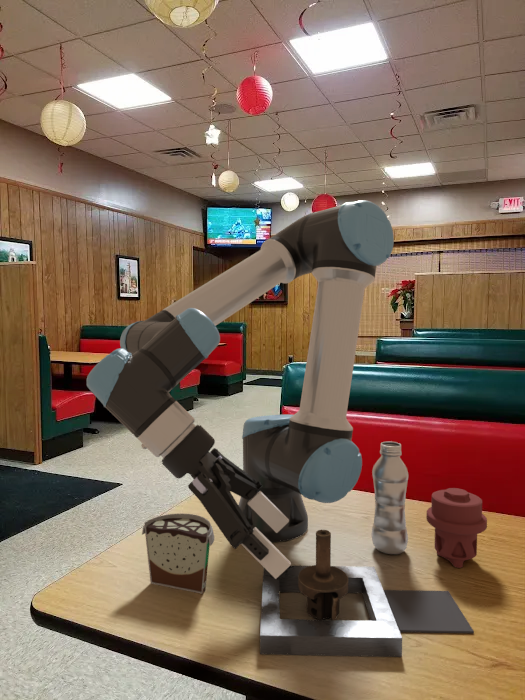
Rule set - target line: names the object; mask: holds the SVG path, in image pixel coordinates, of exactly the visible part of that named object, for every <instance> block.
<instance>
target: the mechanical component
mask: <svg viewBox="0 0 525 700" xmlns="http://www.w3.org/2000/svg"><path fill="white" fill-rule="evenodd" d="M426 521H427V523H428V524H430V526H431V527H433V528H434V549H435V551H436V554H437V556H439V557H442V558H444V559H445V560H446V561H448V562H450V563H451V564H452V566H453V567H454V568H458V569H461V568H463V567H464V562H465V561H468V560H471V559H474V558H476V556H477V553H478V552H477V551H478V534H482V533H483V532H484V531H486V530H487V527H488V519H487V517H486V516H485V515H484V513H483V499H482V498H480V497H479V496H478V495H476V494H473V493H471V492H468V491H467V490H465V489H462V488H457V487H449V488H446V489H440V490H437V491H434V492H432V494H431V506H430V507H429V508H427V510H426Z"/></svg>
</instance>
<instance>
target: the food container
mask: <svg viewBox="0 0 525 700" xmlns="http://www.w3.org/2000/svg"><path fill="white" fill-rule="evenodd" d="M211 524H212V523H211V522H210V521H209V520H208V519H207V518H205V517H203V516H200V515H199V514H198V515H197V514H192V513H170V514H169V513H167V514H162V515H160V516H155V517H153V518H150V519H149V520H147V521H145V522H144V523H143V527H142V530H141V531H142V532H141V535H145V543H146V554H147V563H148V564H147V565H148V573H149V581H150V584H152V585H157V586H161V587H166V588H171V589H172V588H173V589H177V590H181V591H185V592H192V593H197V594H202V595H203V594H204V593H205V591H206V587H207V581H208V580H207V579H208V568H209V557H210V546H212V545H213V544H214V541H215V534H214V529H213V526H212V525H211Z"/></svg>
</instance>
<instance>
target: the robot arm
mask: <svg viewBox="0 0 525 700" xmlns="http://www.w3.org/2000/svg"><path fill="white" fill-rule="evenodd" d="M394 236H395V235H394V231H393V228H392V224H391V221H390V220H389V219H388V216H387V214H386V212H385V211H384V210H383V209H382V208H381V207H380V206H379V205H378V204H376V203H374V202H372V201H371V200H365V199H364V200H357V201H347V202H344V203H343V204H341V205H338V206H335V207H330V208H327V209H323V210H319V211H315V212H311V213H308V214H306V215H303V216H302V217H300V218H299V219H297V220H295V221H294V222H292V223H291V224H289V225H288V226H286V227H284V228H283V229H282V230H280V231H279V232H277V233H276V234H274V235H272V236H271V237H269V238H268V239H265V240H264V242H263V243H262V244H261V247H260V249H259V250H258V251H256V252H255V253H253V254H251V255H250V256H248V257H247V258H245V259H243V260H242V261H240V262H239V263H236V264H235V265H233V266H232V267H230V268H229V269H227V270H225V271H224V272H222V273H220V274H218V275H217V276H215V277H214V278H213V279H210V280H209V281H207V282H206V283H204V284H203V285H200V286H199V287H197V288H195V290H193V291H191V292H190V293H188V294H186V295H184V296H183V297H181V298H179V299H178V300H176V301H175V302H173V303H172V304H170V305H168V306H166V307H164V308H163V309H162V310H161V311H159V312H157V313H155V314H154V315H151V316H150V317H148V318H147V319H145V320H139V321H135V322H133V323H131V324H128V325H127V326H126V327H125V328H124V329H123V330H122V333H121V336H120V339H119V345H120V348H116V349H114V350H113V351H112V352H110V353H109V354H107V355H106V356H105V357H103V358H101V360H99V362H98V363H96V365H94V367H93V368H92V369H91V370H90V372H89V373H88V375H87V376H86V377H87V378H86V387H87V388H88V389H89V391H90V392H91V393H92V394H93V395H94V396H95V397H96V398H97V400H98V401H99V402H100V403H101V404H102V405H103V408H105V409H106V410H107V411H109V413H111V415H112V416H114V417H115V418H116V419H117V420H118V421H119V422H120V423H121V424H122V425H123V427H125V428H126V430H128V431H129V432H130V433H131V434H132V435H133V436H134V437H135V438H136V439H137V440H138V441H139V442H140V443H141V446H140V447H141V449H143V450H146V449H147V450H149V452H150V453H151V454H152V455H153V456H154V457H155V458H160V457H162V459H161V464H162V466H163V467H164V468H165V469H167V470H168V471H169V472H170V474H172V475H173V476H174V477H175V478H176V479H182V478H183V477H185V476H186V474H189V476H191V478H192V479H193V480H192V481H191V482H190V483H188V486H187V488H188V489H189V491H191V492H192V494H193V495H194V496H195V497H196V498H197V499H198V500H199V502H200V503H201V504H202V506H203V507H204V509H205V510H206V512H207V513H208V514H209V516H210V518H212V520H213V522H214V523H215V524H216V526H217V527H218V528H219V530H220V532H221V533H222V535H223V536H224V537H225V539H226V541H228V543H229V544H230V546H231V547H232V548H233V550H234V549H235V550H236V549H237V548H238V547H240V546H242V547H243V548H245V550H246V551H247V552H248V553H249V554H250V555H251V556H252V557H253V558H254V559H255V560H256V561H257V562H258V563H259V564H260V565H261V566H262V567H263V569H264V568H265V569H266V570H267V571H268V572H269V573H270V574H271V575H272V576H273V577H274V578H275V579H276V578H277V577H279V576H280V575H281V574H282V573H283V572H284V571H285V570H286V569H287V568H288V567H289V566H290V565H291V566H292V563H291V561H290V560H289V559H288V558H287V557H286V555H284V553H282V551H281V550H279V549H278V547H276V546H275V545H274V544H273V543H278V542H286V541H291V540H295V539H297V538H299V537H301V536H303V535H304V534H305V533H306V532H307V531H308V529H309V522H308V521H309V515H308V512H307V508H306V506H305V503H304V500H303V497H304V498H306V499H308V500H312V501H316V502H319V503H322V504H331V503H332V504H333V503H336V502H338V501H340V500H342V499H344V498H345V497H346V496H348V493H350V492H351V491H352V490H353V489H354V487H355V486H356V484H357V483H358V480H359V478H360V476H361V473H362V466H363V458H362V453H361V452H360V448H359V447H358V446H357V445H356V444H355V443H354V442H353V441H352V439H353V432H354V427H353V426H352V424H351V423H350V422H349V420H348V419H347V413H348V406H349V402H350V401H349V398H350V393H351V386H352V379H353V371H354V365H355V358H356V351H357V344H358V338H359V331H360V326H361V325H360V323H361V316H362V311H363V310H362V309H363V303H364V296H365V289H366V288H367V287H369V286H371V284H372V283H374V282H375V280H376V272H377V266H378V267H379V266H381V265H382V264H384V263H385V262H387V260H388V259H389V258H390V256H391V255H392V252H393V249H394V242H395V239H394V238H395V237H394ZM308 274H312V276H313V277H314V278H315V280H316V281H317V290H316V296H315V303H314V310H313V317H312V323H311V331H310V336H309V337H310V338H309V344H308V351H307V358H306V364H305V370H304V377H303V382H302V383H303V385H302V390H301V391H302V392H301V398H300V405H299V409H298V411H296V412H295V413H294V414H270V415H261V416H254V417H250V418H248V419H246V420H245V421H244V422H243V423H244V424H243V428H242V436H241V439H242V469H241V468H240V467H239V466H237V464H235V463H234V462H232V461H231V460H230V459H229V458H227V457H226V456H225V455H223V453H222V452H221V451H219V450H218V448H216V447H214V445H215V443H216V441H215V438H214V437H213V436H212V435H211V434H210V433H209V432H208V431H207V430H206V429H205V428H204V427H203V426H202V425H200V424H196V425H195V424H194V423H195V421H196V419H195V417H193V416H192V415H191V414H190V413H189V412H188V411H187V410H186V409H185V408H184V407H183V405H181V404H180V403H179V402H178V401H177V399H175V398H174V397H173V396H172V395H171V393H170V392H171V390H173V389H174V388H175V387H176V386H177V385H178V384H179V383H180V382H182V381H183V379H185V378H186V377H187V376H188V375H189V374H190V373H191V372H192V371H194V370H195V369H196V368H197V367H198V366H199V365H200V364H201V363H202V362H203V361H205V360H206V359H208V358H209V355H211V353H212V352H213V351H214V350H216V348H217V347H218V346H219V344H220V342H221V335H220V332H219V329H218V328H217V325H219V324H220V323H222V322H223V321H225V320H227V319H228V318H229V317H231V316H233V315H234V314H236V313H237V312H239V311H240V310H241V309H243V308H245V307H246V306H248V305H249V304H250V303H252V302H254V301H255V300H257V299H258V298H260V297H261V296H263V295H265V294H266V293H267V292H269V291H270V290H272V289H273V288H275V287H277V286H278V285H280V284H281V283H282V284H289V283H291V282H293V281H294V280H296V279H298V278H300V277H302V276H305V275H308ZM213 447H214V448H213ZM232 493H233V494H235V495H237V496H239V497H240V499H239V502H237V500H236V499H235V497H234V496H233V495H232ZM302 496H303V497H302Z"/></svg>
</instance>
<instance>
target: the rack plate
mask: <svg viewBox="0 0 525 700" xmlns="http://www.w3.org/2000/svg"><path fill="white" fill-rule="evenodd" d="M309 566H310V565H292V564H291V565H290V566H289V567H288V568H287V569H286V570H285V571H284V572H283V573H282V574H281V575H280V576H279V577H277V578H276V579H275V578H274V577H273V576H272V575H271V574H270V573H269V572H268V571H267V570H266V569H265V568H264V567H263V573H262V574H263V577H262V593H261V610H260V611H261V612H260V613H261V614H260V631H259V632H260V633H259V652H260V653H259V654H260V655H280V656H281V655H282V656H283V655H287V656H328V657H329V656H330V657H331V656H333V657H334V656H336V657H337V656H339V657H383V658H386V657H387V658H389V657H390V658H391V657H392V658H402V657H403V637H402V634H401V632H400V631H399V628H398V626H397V623H396V621H395V618H394V616H393V613H392V611H391V608H390V606H389V603H388V600H387V598H386V595H385V593H384V590H385V589H384V588H383V585H382V583H381V581H380V578H379V576H378V573H377V570H376V568H375V566H357V565H355V566H354V565H353V566H351V565H350V566H349V565H348V566H347V565H345V566H343V565H341V566H340V565H332V566H333V567H336V568H338V569H340V570H342V571H343V572H345V573H346V575H347V576H348V592H347V594H362V596H363V600H364V603H365V606H366V609H367V610H366V611H367V612H368V616H369V620H363V619H362V620H361V619H359V620H352V619H351V620H349V619H347V620H345V619H336V620H331V619H323V620H319V619H302V618H301V619H295V618H294V619H292V618H291V619H290V618H289V619H288V618H284V619H283V618H282V619H281V618H280V617H281V616H280V615H281V614H280V593H301V591H300V590H299V587H298V576H299V573H300V571H301V570H303V569H304V568H306V567H309Z"/></svg>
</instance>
